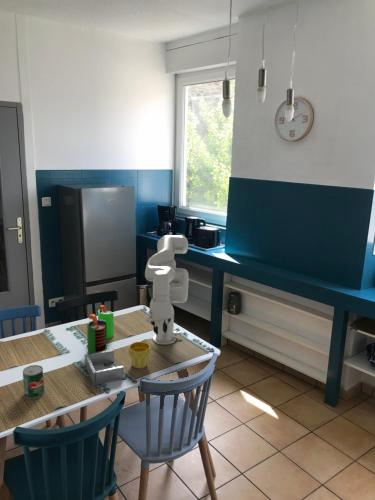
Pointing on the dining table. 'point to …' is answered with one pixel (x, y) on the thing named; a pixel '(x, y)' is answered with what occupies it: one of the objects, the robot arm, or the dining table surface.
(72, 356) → the dining table surface
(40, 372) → the canned tomato
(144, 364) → the plant pot
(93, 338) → the motor
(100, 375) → the grey open box
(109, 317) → the green-shelled ribbed roller
